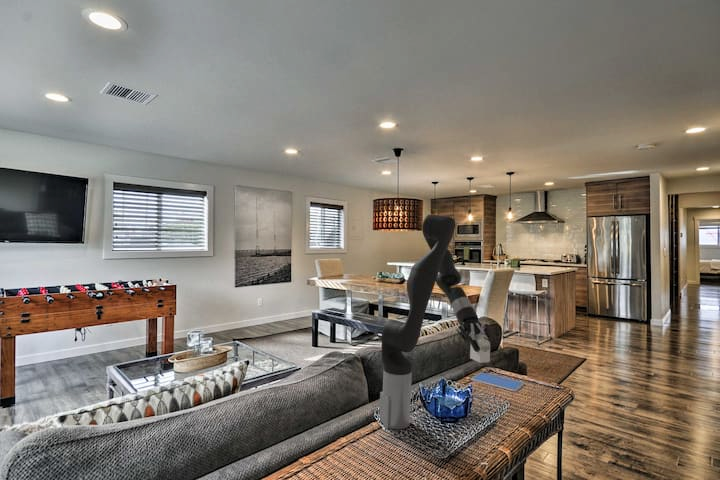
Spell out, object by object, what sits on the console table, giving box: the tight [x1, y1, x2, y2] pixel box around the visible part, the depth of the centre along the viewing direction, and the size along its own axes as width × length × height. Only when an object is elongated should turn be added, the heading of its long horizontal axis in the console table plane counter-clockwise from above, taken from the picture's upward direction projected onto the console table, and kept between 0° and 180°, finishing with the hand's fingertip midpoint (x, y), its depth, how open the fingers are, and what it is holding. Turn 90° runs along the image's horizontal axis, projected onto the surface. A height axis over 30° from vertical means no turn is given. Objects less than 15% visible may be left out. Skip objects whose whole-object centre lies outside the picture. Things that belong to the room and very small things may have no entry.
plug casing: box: [469, 333, 491, 364], centre depth 141 cm, size 4×6×9 cm
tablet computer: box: [470, 371, 525, 393], centre depth 166 cm, size 19×13×1 cm, turn 50°
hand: (483, 350), depth 139 cm, fingers closed on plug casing, 4 cm apart
